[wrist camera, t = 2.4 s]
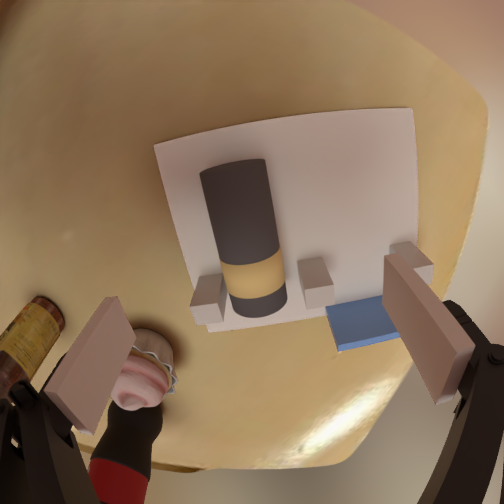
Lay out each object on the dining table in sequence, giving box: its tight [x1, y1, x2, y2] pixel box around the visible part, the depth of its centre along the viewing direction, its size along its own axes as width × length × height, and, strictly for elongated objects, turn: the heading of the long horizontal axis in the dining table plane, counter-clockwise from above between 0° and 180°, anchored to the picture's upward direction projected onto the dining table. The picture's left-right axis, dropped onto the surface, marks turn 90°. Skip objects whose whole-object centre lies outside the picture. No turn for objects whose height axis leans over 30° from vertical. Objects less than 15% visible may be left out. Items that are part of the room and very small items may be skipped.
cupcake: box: [111, 329, 178, 411], centre depth 29 cm, size 9×9×10 cm
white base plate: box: [153, 108, 434, 351], centre depth 24 cm, size 20×23×7 cm
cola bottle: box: [87, 400, 163, 504], centre depth 26 cm, size 8×8×30 cm
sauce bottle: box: [0, 297, 64, 403], centre depth 23 cm, size 7×6×20 cm
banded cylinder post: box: [199, 159, 288, 318], centre depth 24 cm, size 12×5×5 cm, turn 11°
